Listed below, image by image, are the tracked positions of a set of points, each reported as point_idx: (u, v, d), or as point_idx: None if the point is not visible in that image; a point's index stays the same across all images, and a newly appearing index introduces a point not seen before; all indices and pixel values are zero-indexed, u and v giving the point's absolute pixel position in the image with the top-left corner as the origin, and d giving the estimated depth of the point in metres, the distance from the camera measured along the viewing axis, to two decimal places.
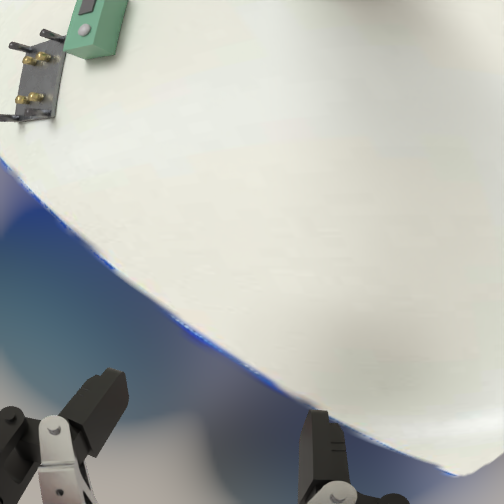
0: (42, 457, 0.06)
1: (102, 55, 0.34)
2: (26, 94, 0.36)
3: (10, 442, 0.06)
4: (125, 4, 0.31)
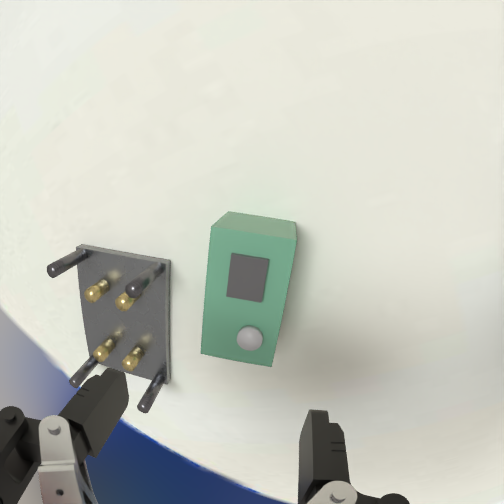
0: (42, 457, 0.06)
1: None
2: (103, 334, 0.30)
3: (10, 442, 0.06)
4: None
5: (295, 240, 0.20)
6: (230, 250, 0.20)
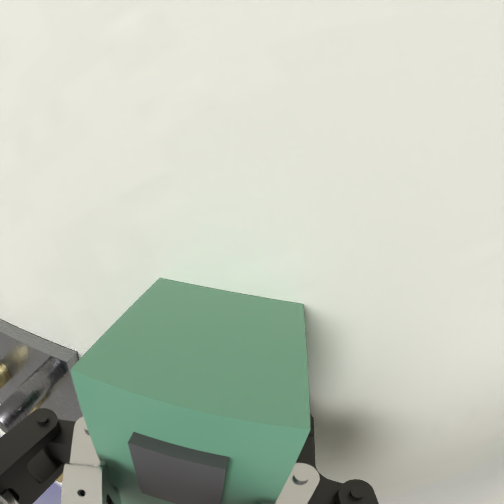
0: (71, 455, 0.07)
1: None
2: None
3: (37, 444, 0.07)
4: None
5: (306, 429, 0.06)
6: (129, 428, 0.06)
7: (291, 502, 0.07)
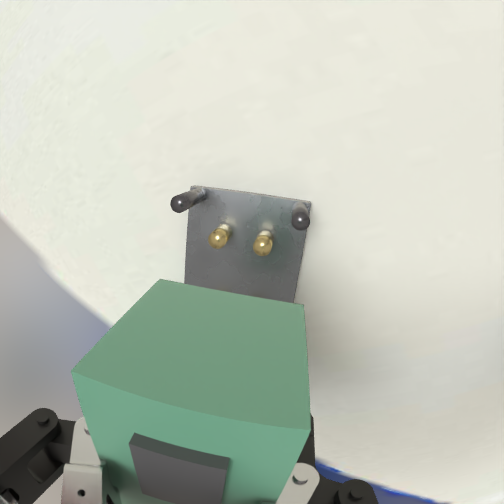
0: (71, 455, 0.07)
1: None
2: None
3: (38, 444, 0.07)
4: None
5: (306, 430, 0.06)
6: (130, 429, 0.06)
7: (291, 502, 0.07)
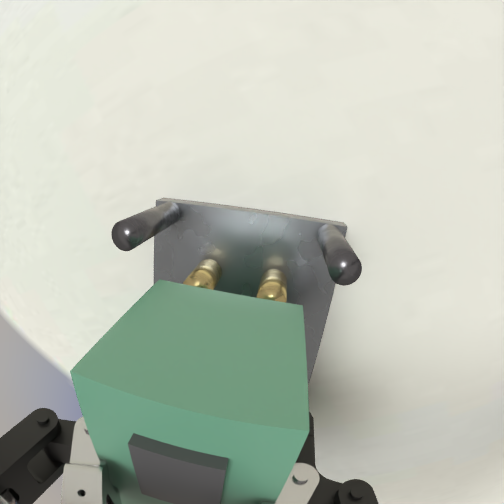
0: (71, 455, 0.07)
1: None
2: None
3: (38, 444, 0.07)
4: None
5: (305, 431, 0.06)
6: (129, 429, 0.06)
7: (291, 502, 0.07)
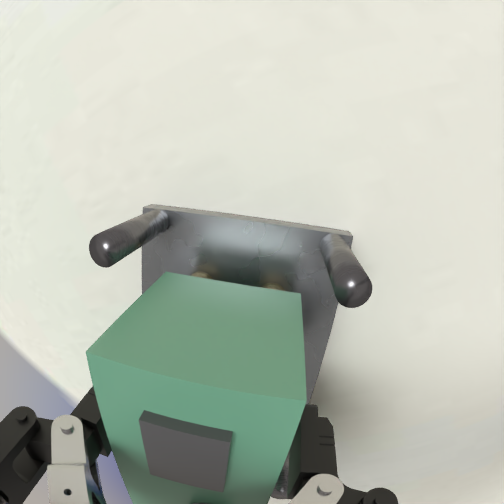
0: (52, 456, 0.06)
1: None
2: None
3: (20, 442, 0.06)
4: None
5: (302, 401, 0.06)
6: (140, 406, 0.07)
7: None
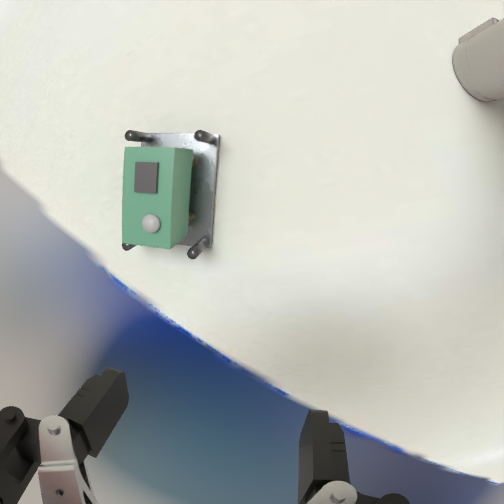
0: (42, 457, 0.06)
1: None
2: None
3: (10, 442, 0.06)
4: (190, 159, 0.33)
5: (174, 147, 0.28)
6: (136, 160, 0.28)
7: None
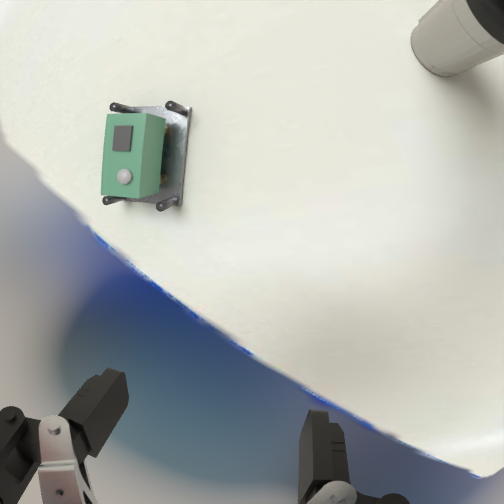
0: (42, 457, 0.06)
1: None
2: None
3: (10, 442, 0.06)
4: (163, 126, 0.37)
5: (146, 113, 0.31)
6: (115, 125, 0.32)
7: None
